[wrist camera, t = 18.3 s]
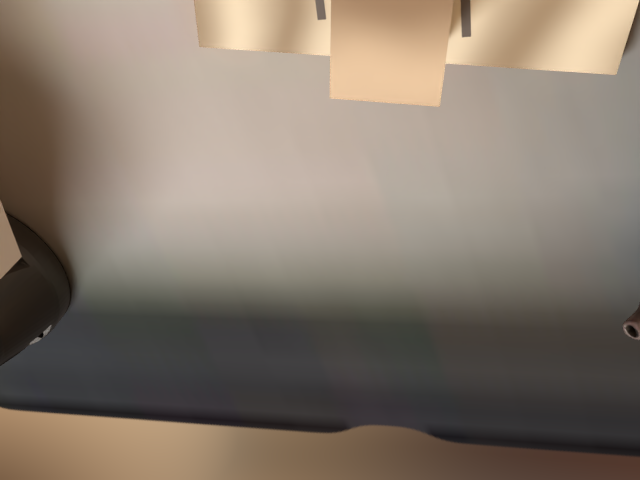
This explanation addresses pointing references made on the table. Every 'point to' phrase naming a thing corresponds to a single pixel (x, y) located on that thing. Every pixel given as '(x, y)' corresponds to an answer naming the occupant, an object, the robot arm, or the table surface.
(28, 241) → the robot arm
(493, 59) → the board
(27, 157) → the table surface
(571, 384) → the table surface
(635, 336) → the teapot
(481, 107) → the table surface
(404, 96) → the sanding block
